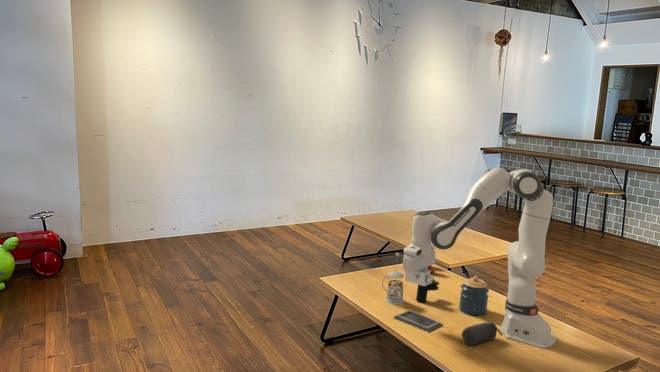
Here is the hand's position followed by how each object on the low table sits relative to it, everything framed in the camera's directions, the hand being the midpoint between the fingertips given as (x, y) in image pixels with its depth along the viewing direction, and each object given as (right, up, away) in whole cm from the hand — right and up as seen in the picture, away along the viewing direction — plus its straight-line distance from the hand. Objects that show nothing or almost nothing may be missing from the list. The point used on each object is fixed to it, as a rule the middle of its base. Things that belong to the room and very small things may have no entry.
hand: (418, 277), depth 218 cm
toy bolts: (+15, -9, +77) cm, 79 cm away
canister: (+29, -20, +17) cm, 39 cm away
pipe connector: (+9, -17, +29) cm, 35 cm away
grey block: (0, -2, 0) cm, 2 cm away
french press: (-8, -17, +26) cm, 32 cm away
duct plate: (0, -21, +3) cm, 21 cm away
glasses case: (+23, -25, -15) cm, 37 cm away
